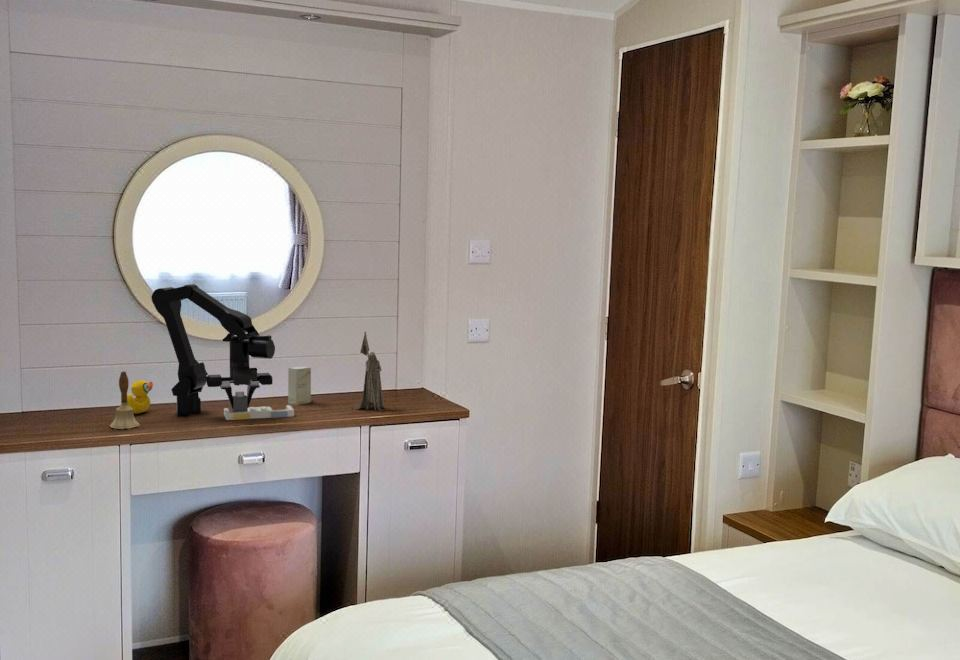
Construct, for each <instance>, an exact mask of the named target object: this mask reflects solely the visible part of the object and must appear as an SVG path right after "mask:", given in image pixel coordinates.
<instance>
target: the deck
mask: <svg viewBox="0 0 960 660" xmlns="http://www.w3.org/2000/svg"><path fill="white" fill-rule="evenodd" d="M253 407H254V408H255V410H256V411H261V407H262V406H257V407H256V406H253ZM265 407H266V409H267V410H273V408H272V407H271V406H265ZM249 411H250V407H248V412H249Z"/></svg>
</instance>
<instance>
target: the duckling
mask: <svg viewBox="0 0 960 660" xmlns="http://www.w3.org/2000/svg"><path fill="white" fill-rule="evenodd" d="M153 386H154V383H153V382H152V381H149V382H148V381H146V380H143V379H142V380H141V379H139V380H136V381H135V382H133V383H132V386H131V388H130V390H131V391H130V392H131V393H132V394H131V393H127V401H128V402H127V403H128V406H130V407H132V408H133V414H134V415H138V414H139V415H140V414H143V413H145V412H146V411H147V410H148V408H149V407H150V405H151V398H150V397H149V396H148V394H149V392H150V391H152V389H153ZM134 396H135V397H134Z"/></svg>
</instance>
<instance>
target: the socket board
mask: <svg viewBox="0 0 960 660" xmlns="http://www.w3.org/2000/svg"><path fill="white" fill-rule="evenodd" d="M254 407H255V406H249V408H250V411H249V412H233V411H232V412H230V410H229V408H227V407H226V408H225V407H224V408H223V416H224V418H225V420H226V421H232V420H233V421H235V420H236V421H237V420H252V419H267V418H268V419H269V418H272V419H273V418H276V419H277V418H289V417H290V418H291V417H295V409H294V408H293V406H292V405H291V404H287V405H286V406H285V409H272V410H267V409H266V407H267V406H265V405H264V406H260V407H261V411H256V410H255V408H254Z"/></svg>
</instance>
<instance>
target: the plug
mask: <svg viewBox="0 0 960 660" xmlns="http://www.w3.org/2000/svg"><path fill="white" fill-rule="evenodd" d="M232 397H233V409H232V408H231V410H232V412H248V408H249V407H248V402H247V394H245V391H240V390H239V391H238V390H237V391H235V394H234V395H232Z"/></svg>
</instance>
